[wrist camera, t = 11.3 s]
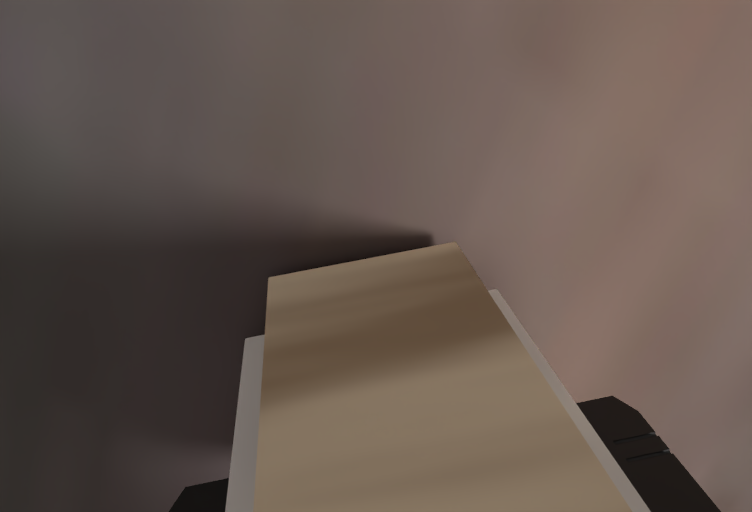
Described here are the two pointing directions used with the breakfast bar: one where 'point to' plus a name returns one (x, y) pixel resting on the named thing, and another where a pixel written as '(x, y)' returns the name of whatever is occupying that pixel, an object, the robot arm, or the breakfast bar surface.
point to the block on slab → (411, 398)
